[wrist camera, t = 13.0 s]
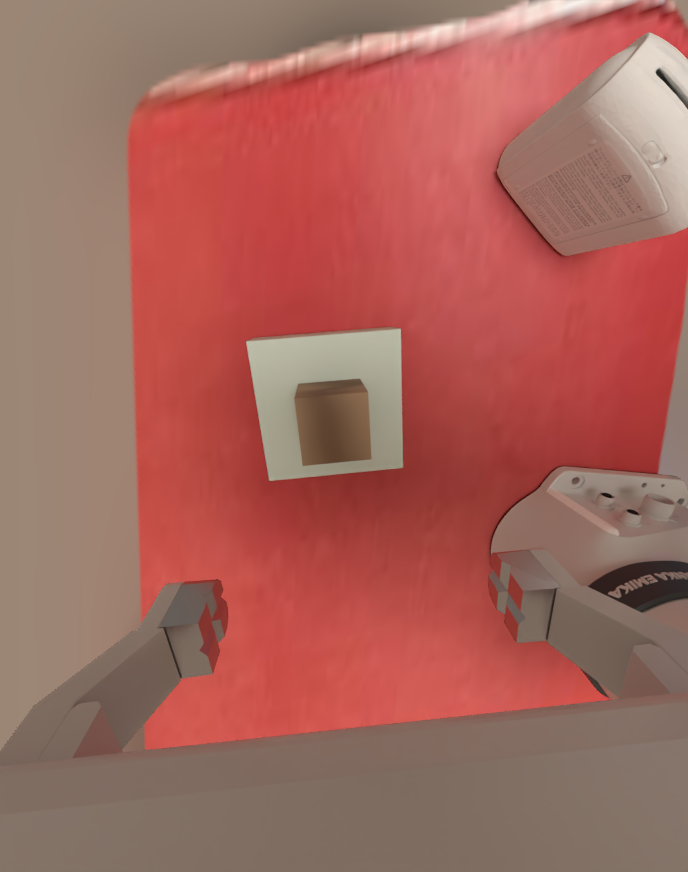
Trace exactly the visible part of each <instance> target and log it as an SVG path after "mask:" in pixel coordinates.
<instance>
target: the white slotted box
mask: <svg viewBox="0 0 688 872" xmlns="http://www.w3.org/2000/svg"><path fill="white" fill-rule="evenodd" d="M497 174H498V176H499V178H500V180H501V182H502V184H503V185H504V187H505V188H506V190H507V191H508V192H509V194H510V195H511V196H512V198H513V199H514V200H515V202H516V203H517V204H518V205H519V207H520V208H521V209H522V211H523V212H524V213H525V214H526V216H527V217H528V218H529V219H530V221H531V222H532V223H533V224H534V226H535V227H536V228H537V229H538V231H539V232H540V233H541V234H542V235H543V237H544V238H545V239H546V240H547V241H548V242H549V243H550V244H551V246H552V247H553V248H554V249H555V250H557V251H558V252H559V253H560V254H562V255H564V256H569V255H574V254H579V253H584V252H588V251H593V250H598V249H602V248H607V247H612V246H617V245H622V244H626V243H631V242H636V241H641V240H646V239H651V238H656V237H661V236H665V235H669V234H673V233H675V232H678V231H680V230H683V229H685V228H687V227H688V59H687V58H686V57H685V56H684V55H683V54H682V53H681V52H679V51H678V50H677V49H676V48H675V47H674V46H672V45H671V44H670V43H668V42H667V41H665V40H664V39H662V38H660V37H658V36H656V35H654V34H652V33H646V34H644V35H643V36H641V37H640V38H638V39H637V40H636V41H635V42H633V43H632V44H631V45H630V46H628V47H627V48H626V49H625V50H623V51H621V52H619V53H617V54H616V55H614V56H613V57H611V58H610V59H608V60H607V61H606V62H604V63H603V64H602V65H601V66H600V67H599V68H597V69H596V70H595V71H594V72H593V73H591V74H590V75H589V76H588V77H587V78H586V79H584V80H583V81H582V82H581V83H580V84H578V85H577V86H576V87H575V88H574V89H573V90H571V91H570V92H569V93H568V94H567V95H565V96H564V97H563V98H562V99H561V100H560V101H558V102H557V103H556V104H555V105H554V106H552V107H551V108H550V109H549V110H548V111H546V112H545V113H544V114H543V115H542V116H540V117H539V118H538V119H537V120H536V121H535V122H533V123H532V124H531V125H530V126H529V127H528V128H526V129H525V130H524V131H523V132H522V133H521V134H519V135H518V136H517V137H516V138H515V139H513V140H512V141H511V142H510V143H509V144H508V145H507V147H506V148H505V150H504V151H503V153H502V155H501V158H500V161H499V168H498V169H497Z"/></svg>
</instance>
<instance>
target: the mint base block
mask: <svg viewBox="0 0 688 872" xmlns="http://www.w3.org/2000/svg"><path fill="white" fill-rule="evenodd" d="M246 344H247V350H248V356H249V362H250V368H251V374H252V380H253V386H254V392H255V398H256V404H257V410H258V416H259V422H260V428H261V434H262V440H263V446H264V452H265V458H266V464H267V470H268V476H269V481H274V480H284V479H295V478H305V477H315V476H325V475H335V474H346V473H356V472H366V471H376V470H387V469H397V468H403V436H402V374H401V329H399V328H394V327H382V328H369V329H357V330H345V331H332V332H320V333H307V334H295V335H283V336H270V337H258V338H253V339H251V340H249V341H246ZM359 378H360V380H361V381H362V383H363V384H364V386H365V388H366V389H367V391H368V400H369V420H370V440H371V459H370V460H360V461H349V462H339V463H329V464H318V465H308V466H303V464H302V456H301V448H300V441H299V433H298V425H297V417H296V409H295V401H294V397H295V394H296V390H297V386H298V384H301V383H313V382H324V381H336V380H347V379H359Z"/></svg>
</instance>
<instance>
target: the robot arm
mask: <svg viewBox="0 0 688 872" xmlns="http://www.w3.org/2000/svg"><path fill="white" fill-rule="evenodd" d="M573 478H574V480H573ZM572 480H573V481H572ZM490 565H491V567H492V568H493V571H492V572H491V573H490V575H489V576H488V587H489V593H490V596H491V599H492V601H493V603H494V605H495V607H496V609H497V610H499V611H500V612H502V613H503V614H505V620H504V623H505V624H506V626H507V628H508V630H509V631H510V633H511V635H512V636H513V638H514V640H515V641H516V643H523V642H536V641H547V643H549V644H550V645H551V646H552V647H554V648H555V649H556V650H558V651H559V652H560V653H561V654H563V655H564V656H565V657H567V658H568V659H569V660H570V661H572V662H573V663H574V664H576V665H577V666H578V667H579V668H580V669H581V670H582V671H583V673H584V674H585V675H586V677H587V678H588V679H589V680H590V682H591V683H592V684H593V685H594V687H595V688H596V689H597V690H598V691H599V692H600V693H601V694H603V695H604V696H606V697H608V698H610V700H607V701H597V702H588V703H579V704H569V705H560V706H550V707H541V708H532V709H523V710H513V711H504V712H495V713H486V714H477V715H468V716H458V717H449V718H440V719H431V720H421V721H412V722H403V723H393V724H384V725H375V726H365V727H356V728H347V729H337V730H328V731H319V732H309V733H300V734H291V735H281V736H272V737H263V738H253V739H244V740H235V741H226V742H216V743H207V744H198V745H188V746H179V747H170V748H160V749H151V750H142V751H133V752H123V751H122V749H123V748H124V747H125V746H126V744H127V743H128V742H129V741H130V740H131V738H132V737H133V736H134V735H135V734H136V733H137V732H138V730H139V729H140V728H141V727H142V726H143V724H144V723H145V722H146V721H147V720H148V719H149V717H150V716H151V715H152V714H153V713H154V712H155V710H156V709H157V708H158V707H159V706H160V704H161V703H162V702H163V701H164V700H165V699H166V697H167V696H168V695H169V694H170V693H171V692H172V690H173V689H174V688H175V687H176V686H177V685H178V683H179V682H180V681H181V678H188V677H195V676H203V675H210V674H213V672H214V669H215V666H216V662H217V659H218V656H219V653H220V649H219V645H218V643H219V642H220V641H221V640H222V639H223V638H224V637H225V633H226V630H227V625H228V607H227V602H226V601H225V600H224V599H223V598H221V595H222V592H223V587H222V583H221V581H220V580H218V579H216V580H202V581H188V582H179V583H168V584H166V585H165V586H164V587H163V588H162V590H161V591H160V593H159V595H158V596H157V598H156V600H155V602H154V603H153V605H152V607H151V608H150V610H149V612H148V613H147V615H146V617H145V618H144V620H143V622H142V624H141V625H140V627H139V629H138V630H137V631H131V632H130V633H129V634H128V635H126V636H125V637H124V638H122V639H121V640H120V641H118V642H117V643H116V644H114V645H113V646H112V647H111V648H109V649H108V650H106V651H105V652H104V653H103V654H101V655H100V656H99V657H97V658H96V659H95V660H93V661H92V662H91V663H90V664H88V665H87V666H86V667H84V668H83V669H81V670H80V671H79V672H78V673H76V674H75V675H74V676H72V677H71V678H70V679H68V680H67V681H66V682H64V683H63V684H62V685H60V686H59V687H58V688H57V689H55V690H54V691H53V692H51V693H50V694H49V695H47V696H46V697H45V698H44V699H42V700H41V701H39V702H38V703H37V704H36V705H34V706H33V707H32V709H31V710H30V711H29V713H28V715H27V716H26V717H25V718H24V720H23V721H22V722H21V724H20V725H19V726H18V728H17V729H16V730H15V732H14V733H13V735H12V736H11V737H10V739H9V740H8V741H7V743H6V744H5V745H4V747H3V748H2V749H1V751H0V872H688V488H687V485H686V483H685V482H684V481H683V480H681V479H680V478H678V477H676V476H671V475H660V474H649V473H637V472H626V471H614V470H602V469H591V468H579V467H568V466H562V467H559V468H557V469H555V470H554V471H553V472H552V473H551V474H550V475H549V476H548V477H547V478H546V480H545V481H544V482H543V483H542V485H541V486H540V487H539V488H538V489H537V490H536V491H535V492H533V493H532V494H530V495H529V496H527V497H526V498H524V499H523V500H521V501H520V502H519V503H517V504H516V505H515V506H514V507H513V508H512V509H511V510H510V511H509V512H508V513H507V514H506V515H505V516H504V518H503V519H502V521H501V522H500V524H499V525H498V527H497V529H496V531H495V534H494V536H493V540H492V544H491V557H490Z"/></svg>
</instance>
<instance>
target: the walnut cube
mask: <svg viewBox="0 0 688 872" xmlns="http://www.w3.org/2000/svg"><path fill="white" fill-rule="evenodd" d="M294 401H295V409H296V417H297V425H298V433H299V441H300V448H301V456H302V464H303V466H308V465H318V464H329V463H339V462H349V461H360V460H370V459H371V440H370V420H369V400H368V391H367V389H366V388H365V386H364V384H363V383H362V381H361V380H360V378H359V379H347V380H336V381H324V382H313V383H301V384H298V386H297V390H296V394H295V397H294Z"/></svg>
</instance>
